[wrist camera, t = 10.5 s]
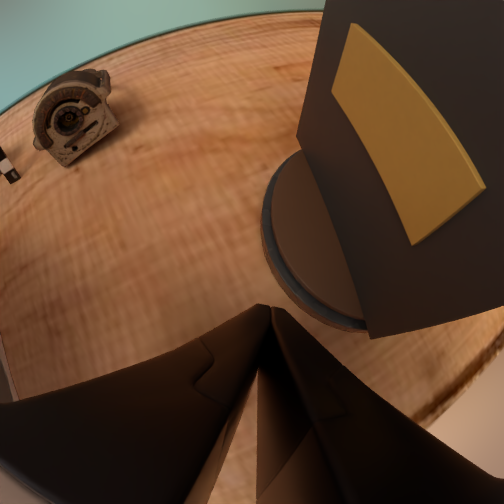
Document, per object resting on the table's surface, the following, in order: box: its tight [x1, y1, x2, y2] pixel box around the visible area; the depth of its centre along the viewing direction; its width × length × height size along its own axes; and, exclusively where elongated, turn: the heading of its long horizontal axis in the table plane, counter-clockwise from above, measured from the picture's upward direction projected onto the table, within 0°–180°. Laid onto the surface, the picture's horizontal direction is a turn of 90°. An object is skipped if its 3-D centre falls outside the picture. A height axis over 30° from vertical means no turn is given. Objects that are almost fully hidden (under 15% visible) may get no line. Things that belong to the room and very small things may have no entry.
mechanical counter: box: [33, 69, 120, 167], centre depth 19 cm, size 7×13×10 cm
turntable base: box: [261, 149, 368, 333], centre depth 19 cm, size 14×14×2 cm
